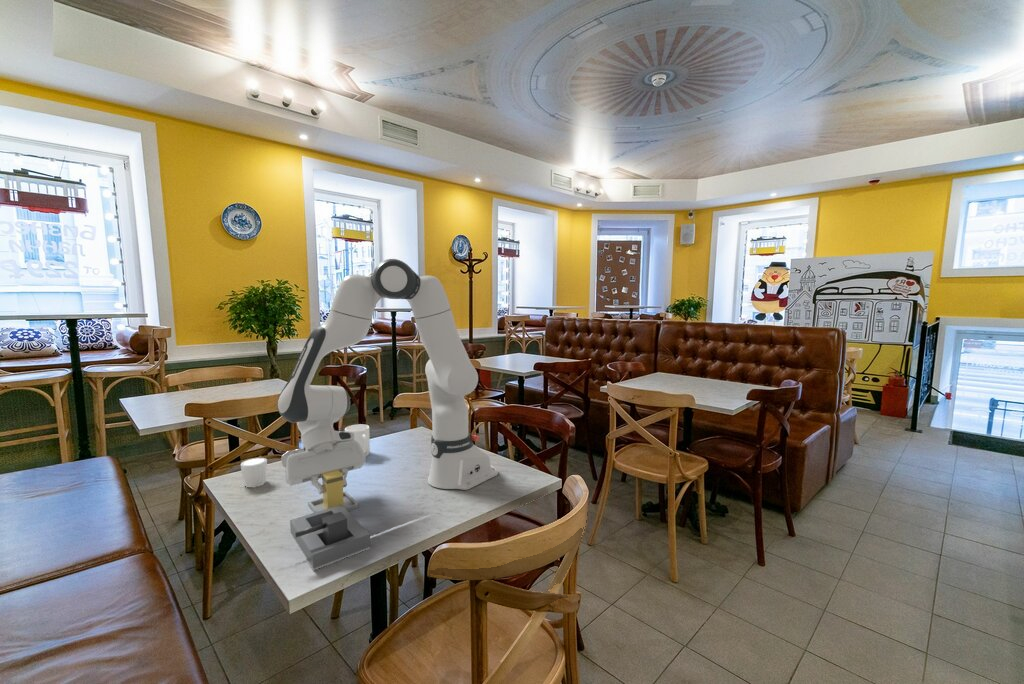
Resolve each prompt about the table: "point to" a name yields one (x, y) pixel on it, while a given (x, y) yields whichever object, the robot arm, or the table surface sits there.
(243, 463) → the white cylinder
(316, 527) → the grey socket block
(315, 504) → the tray
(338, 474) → the plug
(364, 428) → the cup
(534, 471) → the table surface
